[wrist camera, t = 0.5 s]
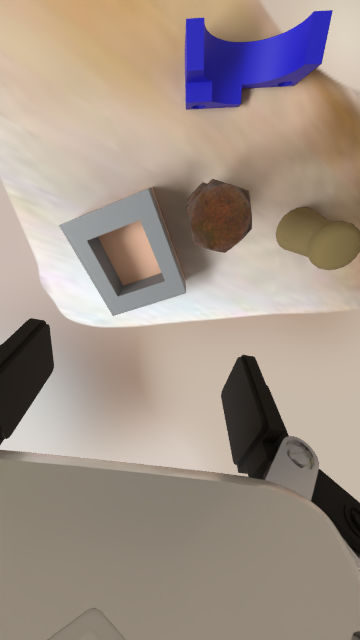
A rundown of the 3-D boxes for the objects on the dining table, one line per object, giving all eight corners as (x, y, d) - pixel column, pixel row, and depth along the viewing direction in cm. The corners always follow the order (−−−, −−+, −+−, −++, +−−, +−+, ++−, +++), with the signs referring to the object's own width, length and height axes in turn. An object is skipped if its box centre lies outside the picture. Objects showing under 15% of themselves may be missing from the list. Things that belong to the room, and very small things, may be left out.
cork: (327, 217, 32) (387, 234, 23) (300, 256, 35) (344, 285, 26) (292, 199, 31) (341, 209, 22) (267, 241, 34) (301, 266, 25)
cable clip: (185, 109, 26) (187, 93, 21) (184, 52, 24) (186, 18, 19) (289, 104, 26) (316, 87, 21) (299, 46, 23) (332, 10, 18)
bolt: (200, 231, 33) (213, 265, 20) (175, 204, 31) (173, 223, 19) (231, 200, 31) (267, 216, 18) (207, 168, 29) (229, 162, 16)
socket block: (152, 187, 30) (147, 188, 26) (185, 279, 37) (186, 293, 33) (74, 218, 32) (59, 225, 28) (120, 301, 39) (113, 315, 35)
